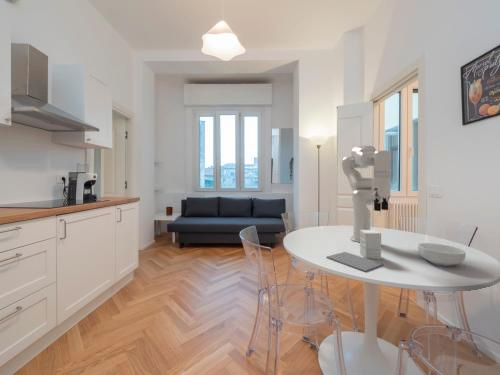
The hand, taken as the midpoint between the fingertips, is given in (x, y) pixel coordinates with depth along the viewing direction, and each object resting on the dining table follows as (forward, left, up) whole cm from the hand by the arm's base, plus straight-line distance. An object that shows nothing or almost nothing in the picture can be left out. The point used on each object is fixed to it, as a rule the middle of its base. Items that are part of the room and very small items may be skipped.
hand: (381, 209), depth 119 cm
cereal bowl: (-10, +22, -23) cm, 33 cm away
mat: (+22, 0, -23) cm, 32 cm away
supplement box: (+9, 0, -23) cm, 25 cm away
